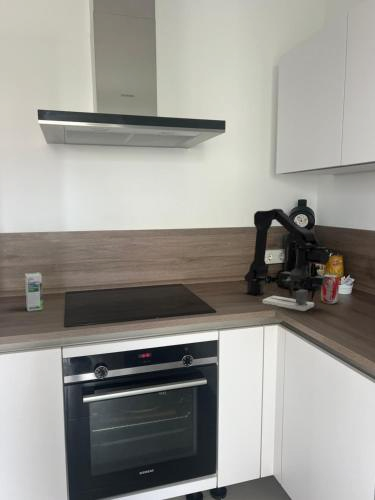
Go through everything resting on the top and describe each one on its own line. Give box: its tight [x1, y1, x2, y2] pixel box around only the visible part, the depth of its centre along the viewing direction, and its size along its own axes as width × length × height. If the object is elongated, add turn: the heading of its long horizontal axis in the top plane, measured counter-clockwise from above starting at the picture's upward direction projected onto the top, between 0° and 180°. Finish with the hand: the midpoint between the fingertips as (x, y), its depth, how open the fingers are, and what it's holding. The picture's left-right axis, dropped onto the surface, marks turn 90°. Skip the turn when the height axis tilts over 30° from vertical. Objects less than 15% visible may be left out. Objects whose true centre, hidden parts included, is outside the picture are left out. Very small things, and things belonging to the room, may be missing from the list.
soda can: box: [320, 274, 340, 305], centre depth 170 cm, size 7×7×12 cm
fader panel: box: [262, 295, 315, 312], centre depth 166 cm, size 19×10×2 cm, turn 50°
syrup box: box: [24, 272, 44, 312], centre depth 155 cm, size 6×6×14 cm
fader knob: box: [295, 289, 309, 304], centre depth 162 cm, size 3×5×5 cm, turn 140°
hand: (301, 298), depth 162 cm, fingers open, 9 cm apart
